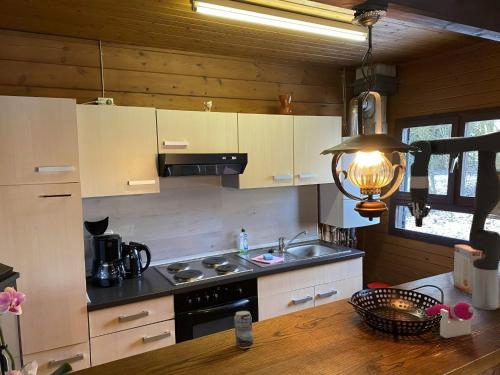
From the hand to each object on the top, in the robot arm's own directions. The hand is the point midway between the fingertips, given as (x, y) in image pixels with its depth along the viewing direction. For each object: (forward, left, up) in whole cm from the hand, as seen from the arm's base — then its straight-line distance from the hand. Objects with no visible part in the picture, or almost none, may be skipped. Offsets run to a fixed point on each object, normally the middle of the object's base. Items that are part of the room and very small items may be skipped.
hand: (418, 226), depth 164 cm
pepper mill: (+6, +16, -32) cm, 36 cm away
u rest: (+6, +27, -35) cm, 45 cm away
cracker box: (-36, -9, -35) cm, 51 cm away
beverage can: (+82, +11, -35) cm, 90 cm away
